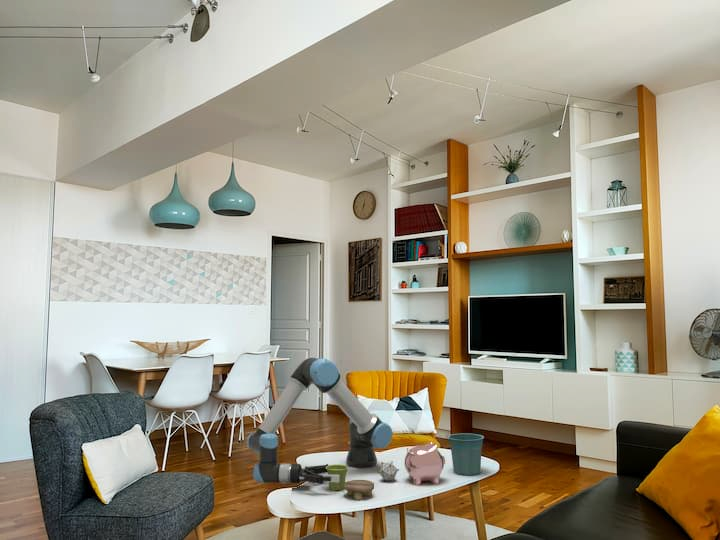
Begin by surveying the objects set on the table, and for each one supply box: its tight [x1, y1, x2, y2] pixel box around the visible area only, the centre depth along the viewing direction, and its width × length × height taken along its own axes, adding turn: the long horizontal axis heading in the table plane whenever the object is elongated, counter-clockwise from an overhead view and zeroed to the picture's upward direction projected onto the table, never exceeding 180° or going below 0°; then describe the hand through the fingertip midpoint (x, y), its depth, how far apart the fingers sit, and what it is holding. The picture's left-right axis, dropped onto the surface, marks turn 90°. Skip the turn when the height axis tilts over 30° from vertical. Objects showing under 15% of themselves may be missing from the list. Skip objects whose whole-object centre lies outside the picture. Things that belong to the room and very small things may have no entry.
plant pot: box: [326, 464, 349, 491], centre depth 229 cm, size 9×9×9 cm
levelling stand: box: [343, 479, 375, 501], centre depth 219 cm, size 12×12×4 cm
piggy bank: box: [404, 440, 446, 486], centre depth 240 cm, size 15×18×16 cm
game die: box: [377, 460, 400, 483], centre depth 240 cm, size 9×8×10 cm
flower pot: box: [447, 432, 485, 476], centre depth 254 cm, size 16×16×16 cm
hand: (341, 474), depth 228 cm, fingers open, 13 cm apart
